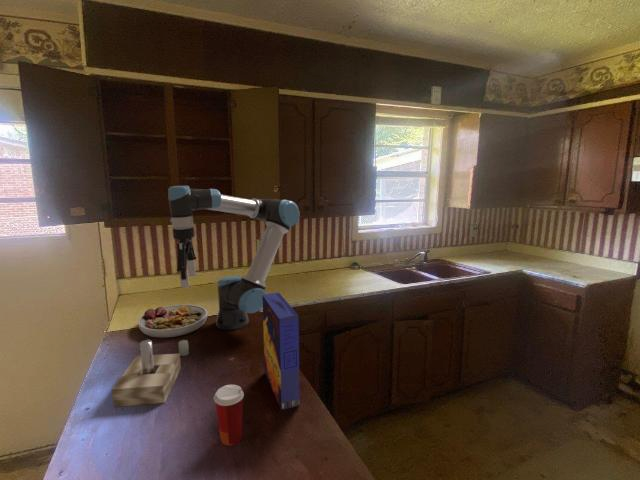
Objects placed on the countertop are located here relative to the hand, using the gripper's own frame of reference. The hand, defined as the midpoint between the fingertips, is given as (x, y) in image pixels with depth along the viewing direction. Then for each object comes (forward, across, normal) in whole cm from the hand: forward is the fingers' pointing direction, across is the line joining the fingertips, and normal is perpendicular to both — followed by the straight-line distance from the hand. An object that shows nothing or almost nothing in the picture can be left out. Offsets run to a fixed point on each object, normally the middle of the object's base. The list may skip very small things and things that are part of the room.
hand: (189, 281), depth 135 cm
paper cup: (+29, +51, +18) cm, 61 cm away
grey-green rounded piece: (+30, +1, -5) cm, 30 cm away
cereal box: (+30, +30, +32) cm, 54 cm away
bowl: (+31, -27, -15) cm, 44 cm away
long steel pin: (+29, +22, -11) cm, 38 cm away
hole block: (+29, +22, -11) cm, 38 cm away
